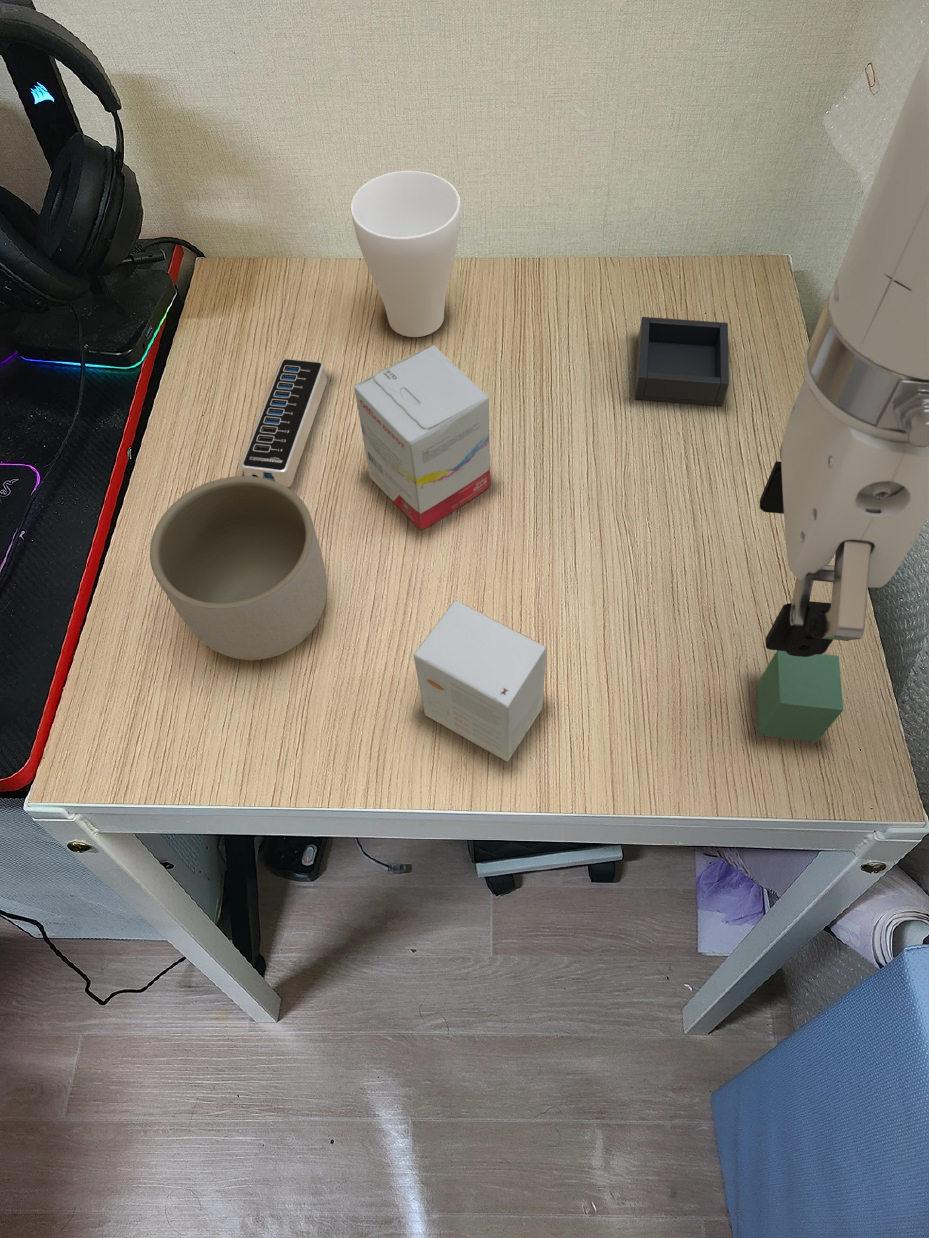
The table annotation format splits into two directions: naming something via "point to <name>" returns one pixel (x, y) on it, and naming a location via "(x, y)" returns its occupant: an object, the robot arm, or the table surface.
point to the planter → (242, 566)
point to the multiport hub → (285, 421)
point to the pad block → (799, 696)
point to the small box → (481, 679)
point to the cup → (409, 245)
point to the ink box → (425, 435)
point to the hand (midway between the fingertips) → (788, 575)
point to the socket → (682, 361)
